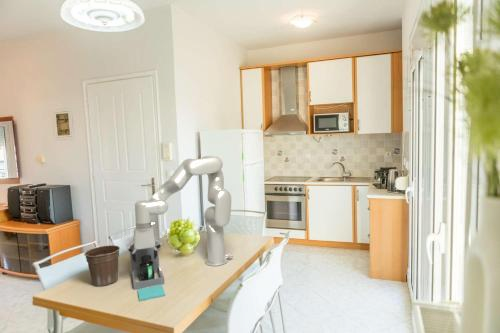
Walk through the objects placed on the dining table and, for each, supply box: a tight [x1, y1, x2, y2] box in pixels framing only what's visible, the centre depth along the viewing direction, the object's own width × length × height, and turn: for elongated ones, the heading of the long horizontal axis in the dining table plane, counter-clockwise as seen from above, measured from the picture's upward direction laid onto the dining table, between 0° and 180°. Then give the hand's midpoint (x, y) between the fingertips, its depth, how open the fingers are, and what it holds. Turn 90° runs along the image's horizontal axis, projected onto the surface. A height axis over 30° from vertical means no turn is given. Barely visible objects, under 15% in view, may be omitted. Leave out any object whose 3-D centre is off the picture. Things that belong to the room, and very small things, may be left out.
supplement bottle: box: [139, 255, 156, 281], centre depth 167 cm, size 7×7×12 cm
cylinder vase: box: [151, 215, 161, 252], centre depth 213 cm, size 12×12×25 cm
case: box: [129, 241, 165, 290], centre depth 168 cm, size 14×20×17 cm
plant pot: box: [83, 245, 121, 287], centre depth 167 cm, size 16×16×16 cm
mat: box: [137, 284, 166, 302], centre depth 152 cm, size 11×11×1 cm
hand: (145, 259), depth 166 cm, fingers open, 9 cm apart
